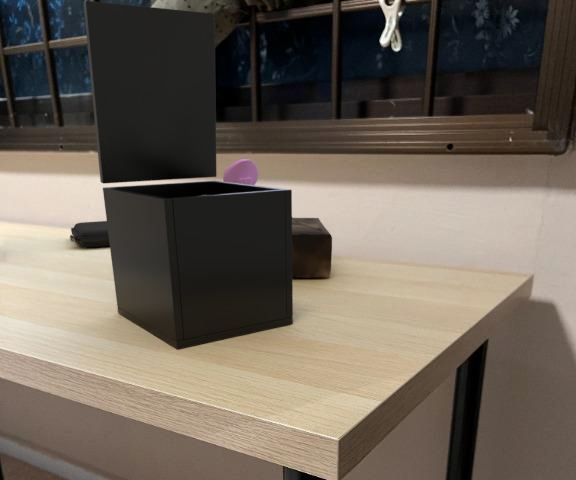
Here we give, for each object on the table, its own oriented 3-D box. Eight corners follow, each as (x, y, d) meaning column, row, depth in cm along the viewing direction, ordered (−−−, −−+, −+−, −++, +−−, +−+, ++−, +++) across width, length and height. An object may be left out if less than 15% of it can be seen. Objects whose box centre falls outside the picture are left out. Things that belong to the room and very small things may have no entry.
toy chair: (231, 248, 107) (227, 157, 102) (271, 252, 103) (269, 158, 97) (199, 255, 101) (192, 159, 95) (240, 261, 96) (236, 160, 91)
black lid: (214, 13, 64) (190, 15, 68) (85, 0, 57) (67, 4, 61) (216, 176, 71) (194, 170, 75) (103, 183, 64) (85, 175, 68)
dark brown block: (320, 253, 102) (320, 212, 99) (333, 279, 84) (334, 231, 82) (272, 254, 101) (272, 213, 99) (275, 281, 84) (274, 232, 81)
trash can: (293, 324, 65) (291, 189, 60) (177, 349, 58) (164, 199, 53) (221, 294, 77) (215, 180, 72) (117, 313, 70) (102, 187, 65)
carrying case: (66, 238, 119) (73, 250, 107) (63, 222, 118) (71, 232, 106) (121, 234, 123) (135, 245, 111) (119, 218, 122) (133, 228, 109)
